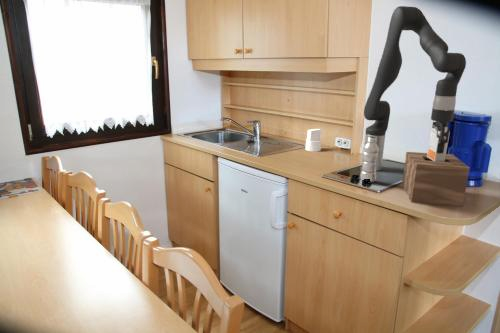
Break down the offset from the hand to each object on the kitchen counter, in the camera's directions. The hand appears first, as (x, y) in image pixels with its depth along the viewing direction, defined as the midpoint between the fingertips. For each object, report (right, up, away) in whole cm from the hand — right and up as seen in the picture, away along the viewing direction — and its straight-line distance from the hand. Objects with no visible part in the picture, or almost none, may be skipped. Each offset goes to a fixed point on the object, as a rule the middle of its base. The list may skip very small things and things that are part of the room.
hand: (437, 150), depth 147 cm
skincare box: (0, -3, +1) cm, 4 cm away
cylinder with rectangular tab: (-35, +4, +79) cm, 86 cm away
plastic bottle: (-20, -13, +21) cm, 32 cm away
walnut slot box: (0, -18, +5) cm, 18 cm away
